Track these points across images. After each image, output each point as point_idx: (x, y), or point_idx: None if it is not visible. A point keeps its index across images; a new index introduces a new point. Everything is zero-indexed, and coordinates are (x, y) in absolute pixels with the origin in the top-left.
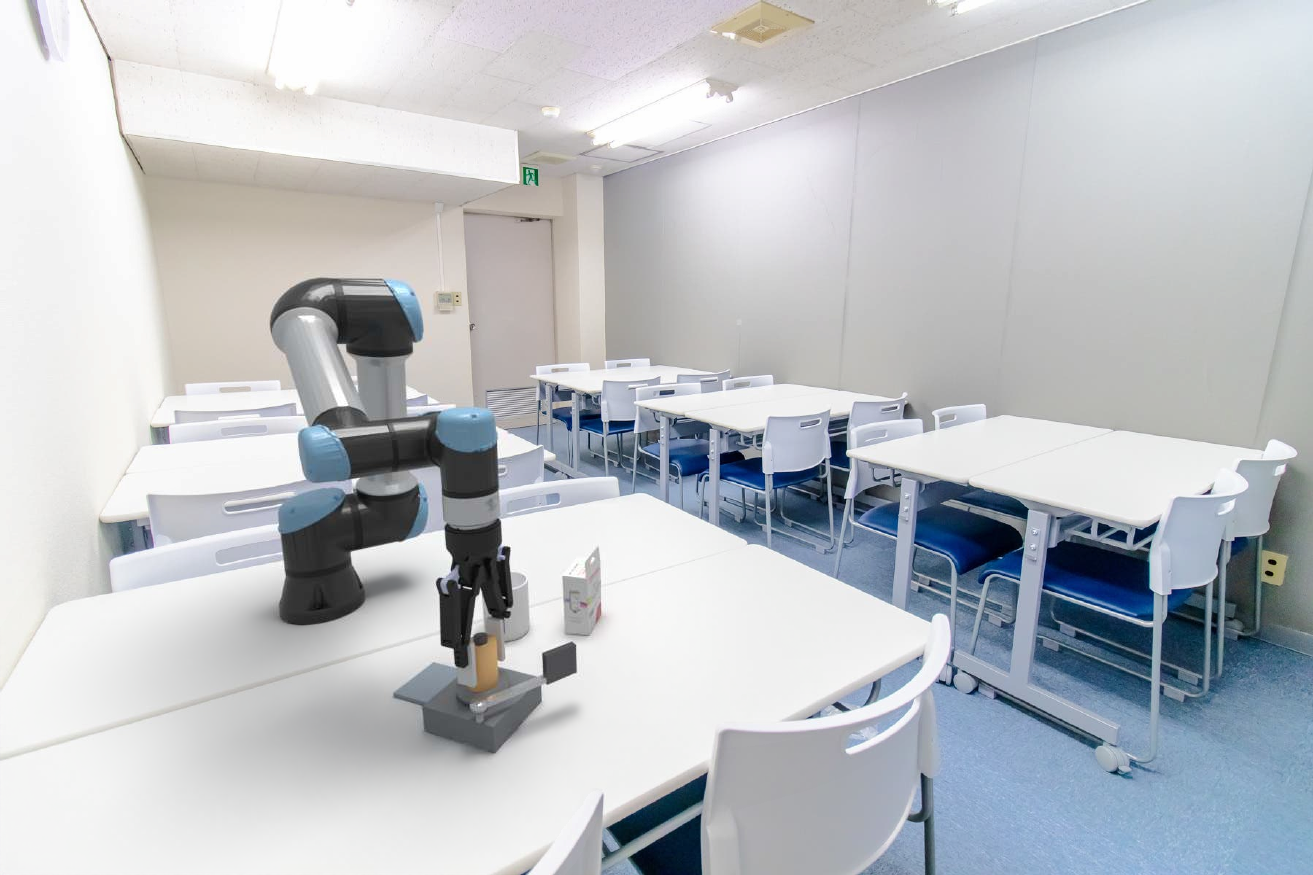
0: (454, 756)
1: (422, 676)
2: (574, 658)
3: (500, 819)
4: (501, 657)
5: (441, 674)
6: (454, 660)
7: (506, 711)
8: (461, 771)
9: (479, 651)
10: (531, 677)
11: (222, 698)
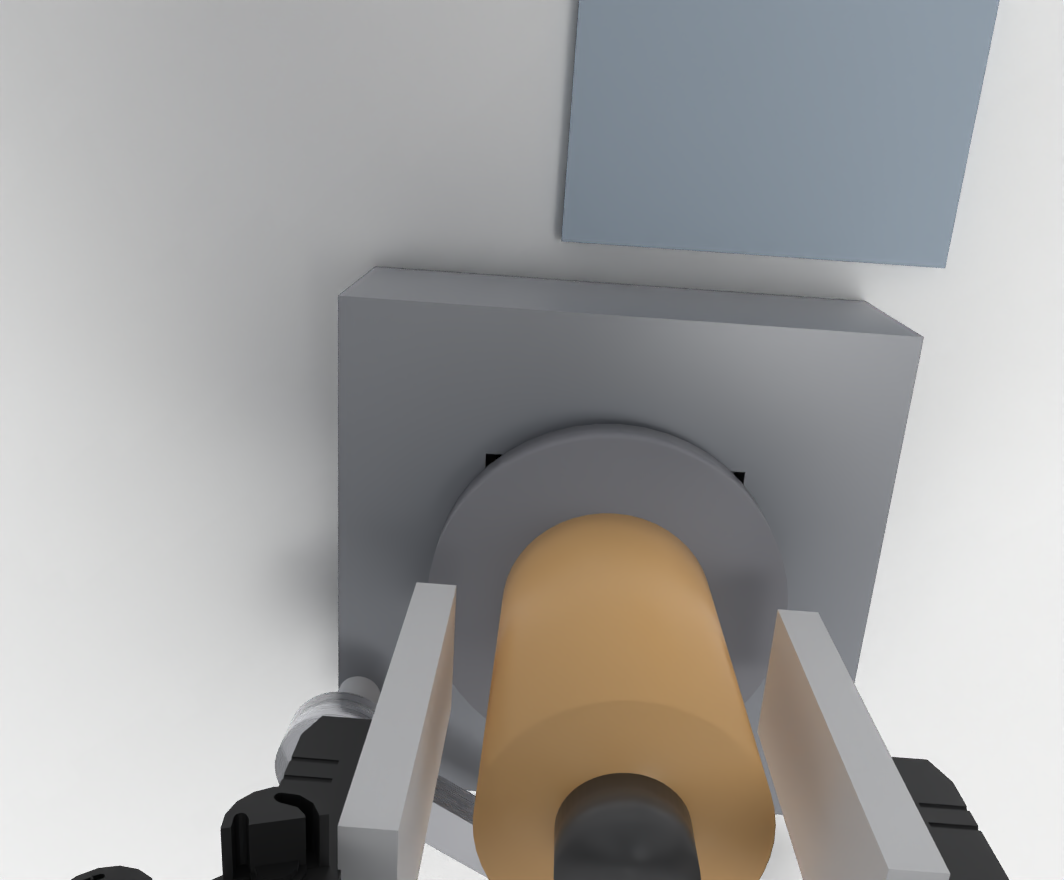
0: (280, 531)
1: None
2: None
3: (84, 864)
4: (765, 745)
5: (883, 14)
6: (291, 758)
7: (476, 781)
8: (216, 612)
9: (490, 878)
10: None
11: None
